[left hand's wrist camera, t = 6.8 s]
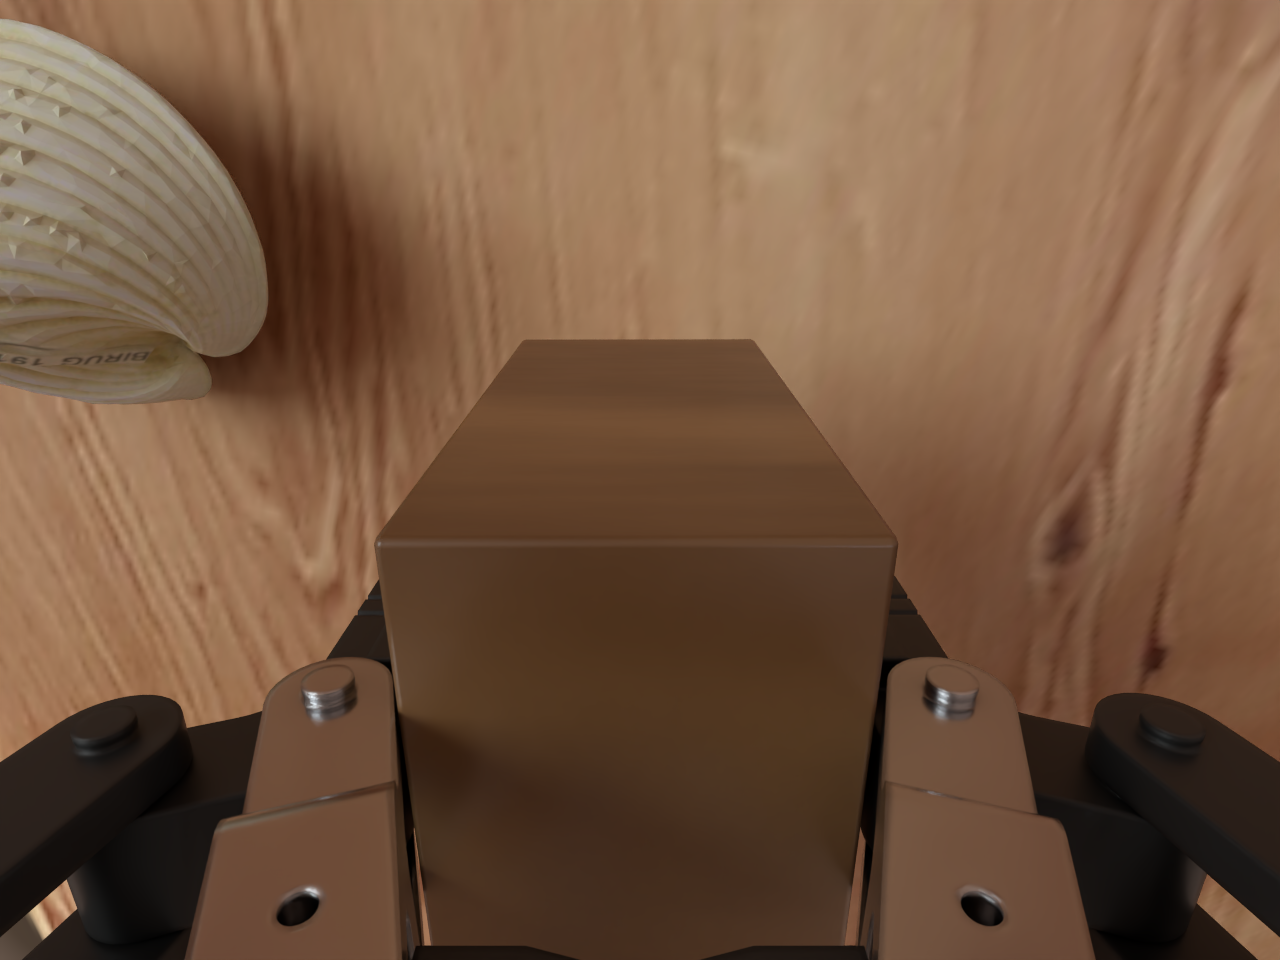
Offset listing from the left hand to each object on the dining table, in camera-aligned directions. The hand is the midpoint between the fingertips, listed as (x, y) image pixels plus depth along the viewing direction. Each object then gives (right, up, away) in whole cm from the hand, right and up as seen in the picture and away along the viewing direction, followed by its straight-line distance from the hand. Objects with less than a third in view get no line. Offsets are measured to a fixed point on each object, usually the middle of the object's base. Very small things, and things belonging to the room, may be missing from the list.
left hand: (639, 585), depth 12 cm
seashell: (-13, +9, +9) cm, 18 cm away
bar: (0, -7, +8) cm, 10 cm away
